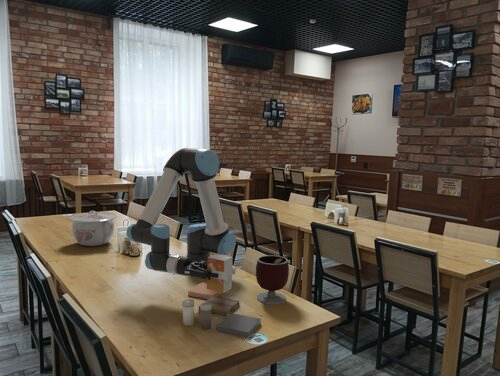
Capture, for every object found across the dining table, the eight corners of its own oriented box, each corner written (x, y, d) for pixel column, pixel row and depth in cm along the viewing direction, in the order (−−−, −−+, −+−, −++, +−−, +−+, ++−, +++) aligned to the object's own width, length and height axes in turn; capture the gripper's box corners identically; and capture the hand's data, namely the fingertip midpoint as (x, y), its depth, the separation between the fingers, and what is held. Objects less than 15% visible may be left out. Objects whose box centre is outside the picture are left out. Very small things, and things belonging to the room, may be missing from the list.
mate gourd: (250, 294, 183) (251, 249, 180) (279, 291, 187) (280, 247, 185) (264, 308, 168) (265, 260, 166) (295, 304, 173) (297, 257, 171)
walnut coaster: (212, 300, 175) (212, 295, 175) (239, 305, 171) (239, 300, 170) (198, 311, 164) (198, 306, 164) (226, 316, 160) (226, 311, 159)
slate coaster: (231, 317, 159) (231, 312, 159) (260, 323, 154) (260, 318, 154) (216, 331, 148) (216, 325, 148) (248, 338, 143) (248, 332, 143)
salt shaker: (186, 320, 156) (185, 298, 155) (196, 321, 154) (195, 300, 154) (180, 324, 152) (180, 303, 151) (191, 326, 151) (190, 304, 150)
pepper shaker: (203, 323, 153) (203, 302, 152) (213, 325, 152) (213, 304, 151) (197, 328, 149) (197, 306, 148) (207, 330, 148) (208, 308, 147)
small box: (206, 289, 165) (206, 257, 164) (215, 284, 171) (215, 253, 169) (223, 293, 161) (224, 260, 160) (232, 288, 167) (233, 256, 165)
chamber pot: (71, 239, 268) (70, 207, 265) (116, 237, 276) (116, 206, 273) (66, 251, 241) (65, 215, 239) (116, 248, 249) (116, 214, 247)
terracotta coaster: (201, 286, 191) (201, 282, 190) (225, 290, 186) (225, 286, 186) (187, 295, 180) (187, 291, 179) (212, 300, 175) (212, 295, 175)
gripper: (192, 267, 181) (240, 275, 173) (166, 281, 163) (219, 291, 155) (192, 250, 181) (241, 258, 172) (166, 262, 162) (219, 271, 154)
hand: (230, 273), depth 163 cm, fingers closed on small box, 7 cm apart
